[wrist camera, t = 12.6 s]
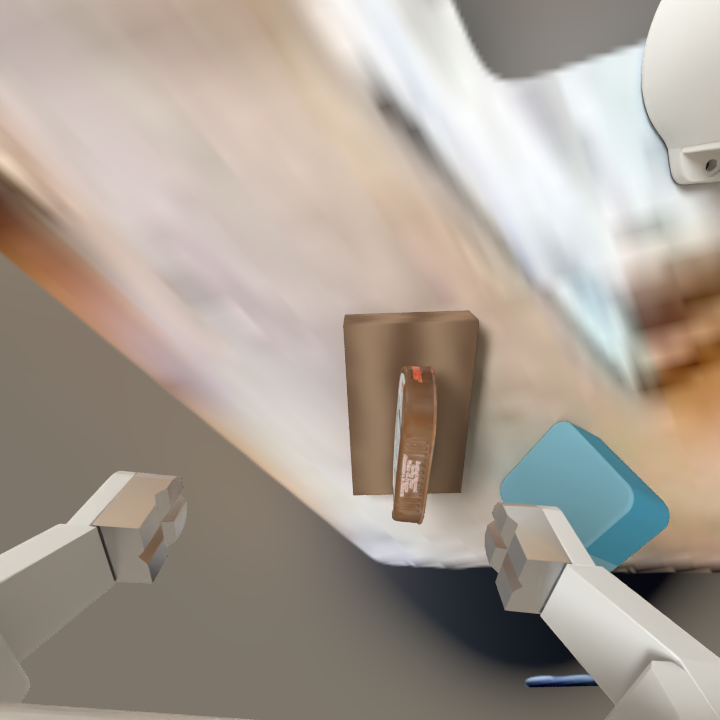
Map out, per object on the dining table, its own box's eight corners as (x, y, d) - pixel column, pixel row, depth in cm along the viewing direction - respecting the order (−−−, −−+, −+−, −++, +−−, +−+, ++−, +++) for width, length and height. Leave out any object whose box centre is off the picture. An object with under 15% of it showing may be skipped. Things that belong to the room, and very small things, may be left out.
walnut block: (466, 308, 34) (479, 320, 31) (452, 467, 43) (460, 492, 39) (345, 312, 35) (343, 325, 31) (354, 470, 43) (353, 495, 39)
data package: (524, 500, 44) (578, 599, 33) (495, 487, 43) (541, 584, 32) (592, 430, 40) (680, 517, 29) (561, 414, 39) (640, 497, 28)
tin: (414, 477, 38) (426, 547, 30) (385, 477, 38) (390, 546, 30) (429, 350, 32) (450, 397, 24) (395, 349, 32) (405, 395, 24)
